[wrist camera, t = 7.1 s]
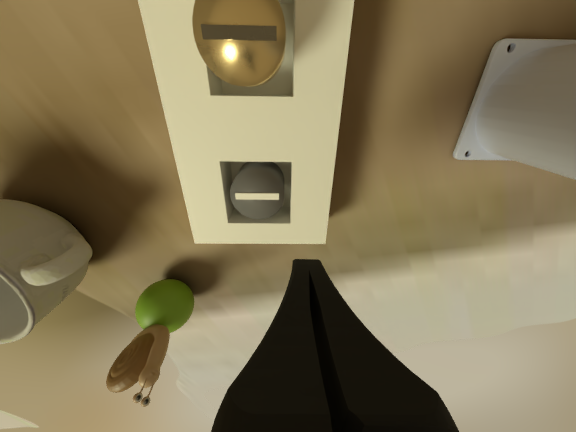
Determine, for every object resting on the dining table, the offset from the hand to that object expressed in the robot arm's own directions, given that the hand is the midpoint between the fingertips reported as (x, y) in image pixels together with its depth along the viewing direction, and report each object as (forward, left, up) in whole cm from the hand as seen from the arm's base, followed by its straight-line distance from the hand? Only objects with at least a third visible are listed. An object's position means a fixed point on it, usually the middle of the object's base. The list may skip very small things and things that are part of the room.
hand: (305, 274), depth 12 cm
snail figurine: (+13, +12, -11) cm, 20 cm away
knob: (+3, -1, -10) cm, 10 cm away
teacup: (+23, +5, -11) cm, 26 cm away
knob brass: (+3, -10, -7) cm, 13 cm away
